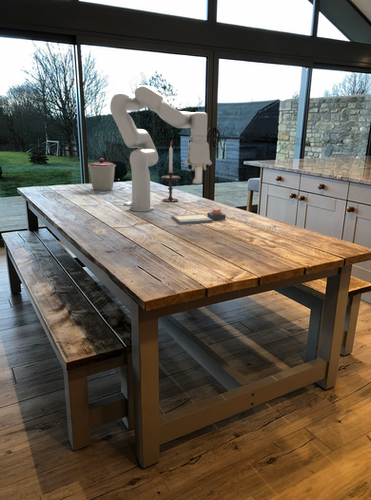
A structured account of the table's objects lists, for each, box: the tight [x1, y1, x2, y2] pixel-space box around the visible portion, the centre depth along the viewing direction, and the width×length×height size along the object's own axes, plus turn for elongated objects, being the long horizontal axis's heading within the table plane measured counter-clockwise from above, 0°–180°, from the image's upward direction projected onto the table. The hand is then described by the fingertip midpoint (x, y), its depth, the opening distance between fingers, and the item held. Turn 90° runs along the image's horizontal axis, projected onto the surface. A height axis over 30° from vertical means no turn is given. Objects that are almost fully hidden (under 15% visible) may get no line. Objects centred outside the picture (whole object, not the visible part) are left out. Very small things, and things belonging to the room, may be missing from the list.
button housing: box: [206, 211, 227, 221], centre depth 202 cm, size 7×7×2 cm
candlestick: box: [160, 140, 181, 203], centre depth 238 cm, size 11×11×35 cm
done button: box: [211, 208, 222, 215], centre depth 201 cm, size 4×4×3 cm
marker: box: [192, 164, 203, 184], centre depth 198 cm, size 5×5×11 cm
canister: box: [87, 157, 117, 192], centre depth 273 cm, size 18×18×21 cm
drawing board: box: [171, 213, 213, 225], centre depth 198 cm, size 16×14×1 cm
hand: (197, 178), depth 199 cm, fingers closed on marker, 4 cm apart
